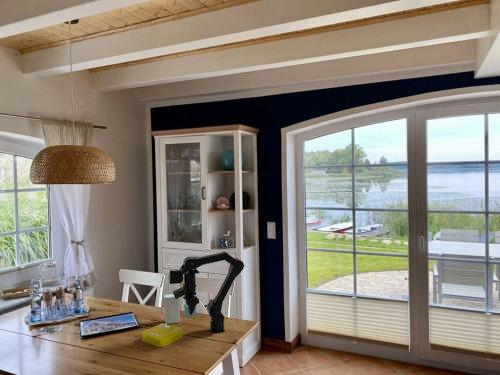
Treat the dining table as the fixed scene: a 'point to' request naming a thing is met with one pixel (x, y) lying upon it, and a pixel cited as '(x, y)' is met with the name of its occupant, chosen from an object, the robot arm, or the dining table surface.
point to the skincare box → (171, 309)
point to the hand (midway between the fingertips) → (190, 312)
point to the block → (186, 310)
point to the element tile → (162, 335)
